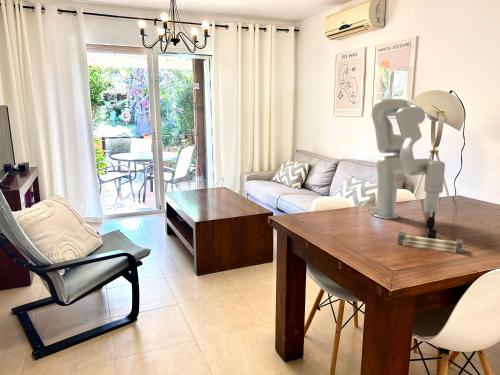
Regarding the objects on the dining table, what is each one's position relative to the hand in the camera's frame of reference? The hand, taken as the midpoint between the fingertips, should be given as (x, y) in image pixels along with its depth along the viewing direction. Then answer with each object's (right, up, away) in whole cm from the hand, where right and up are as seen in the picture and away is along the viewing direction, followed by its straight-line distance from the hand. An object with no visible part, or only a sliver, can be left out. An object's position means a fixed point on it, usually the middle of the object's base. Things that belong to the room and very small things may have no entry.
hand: (430, 227), depth 172 cm
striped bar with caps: (-11, -6, -21) cm, 24 cm away
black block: (-4, -4, -9) cm, 11 cm away
